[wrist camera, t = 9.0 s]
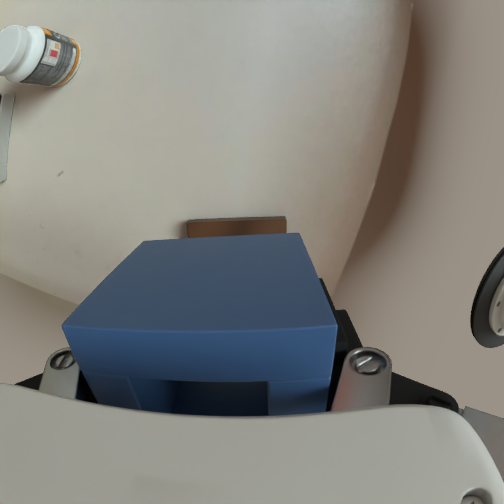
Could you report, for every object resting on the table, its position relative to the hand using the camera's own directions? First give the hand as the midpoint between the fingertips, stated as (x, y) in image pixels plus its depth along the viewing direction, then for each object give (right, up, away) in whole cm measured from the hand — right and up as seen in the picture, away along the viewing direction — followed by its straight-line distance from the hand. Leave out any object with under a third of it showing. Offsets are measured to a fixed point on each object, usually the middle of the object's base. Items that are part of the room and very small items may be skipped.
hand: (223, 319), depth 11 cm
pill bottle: (-19, +23, +11) cm, 31 cm away
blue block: (0, 0, +1) cm, 1 cm away
